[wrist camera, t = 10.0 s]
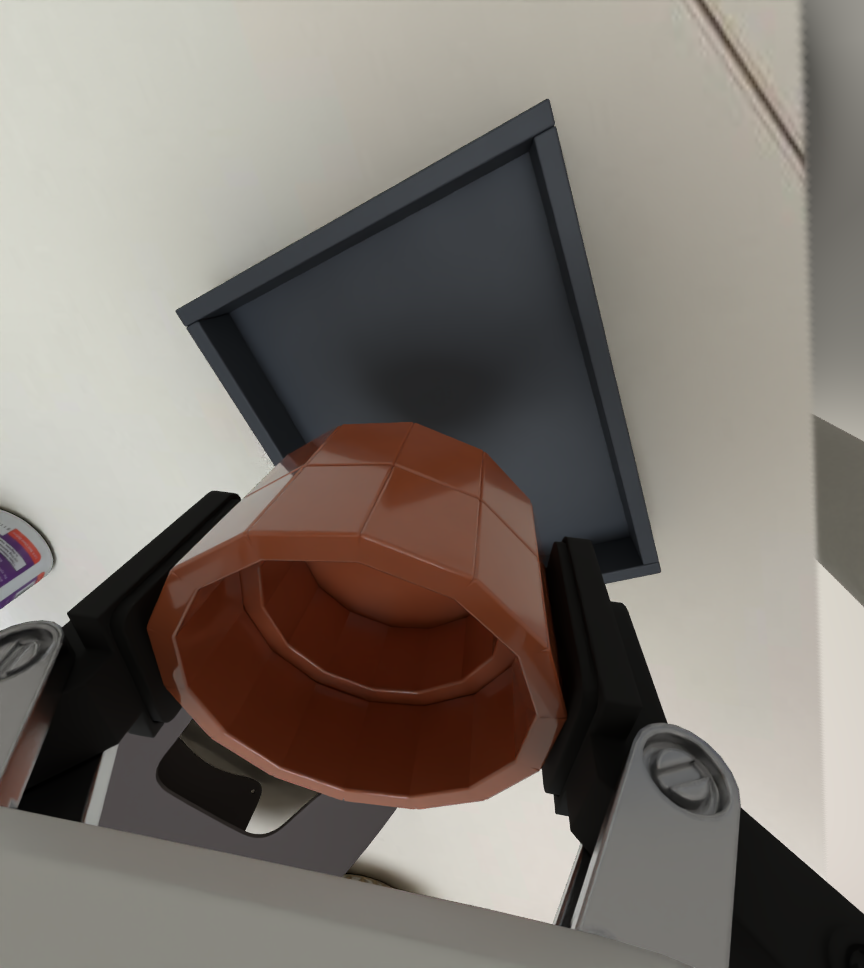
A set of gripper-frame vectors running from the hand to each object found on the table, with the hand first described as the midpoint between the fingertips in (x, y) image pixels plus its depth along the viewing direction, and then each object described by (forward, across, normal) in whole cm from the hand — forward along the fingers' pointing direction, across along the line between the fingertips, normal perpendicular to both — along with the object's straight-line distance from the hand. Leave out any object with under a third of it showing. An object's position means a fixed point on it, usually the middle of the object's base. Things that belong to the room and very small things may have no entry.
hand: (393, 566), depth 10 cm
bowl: (+1, 0, 0) cm, 1 cm away
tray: (+9, 0, 0) cm, 9 cm away
